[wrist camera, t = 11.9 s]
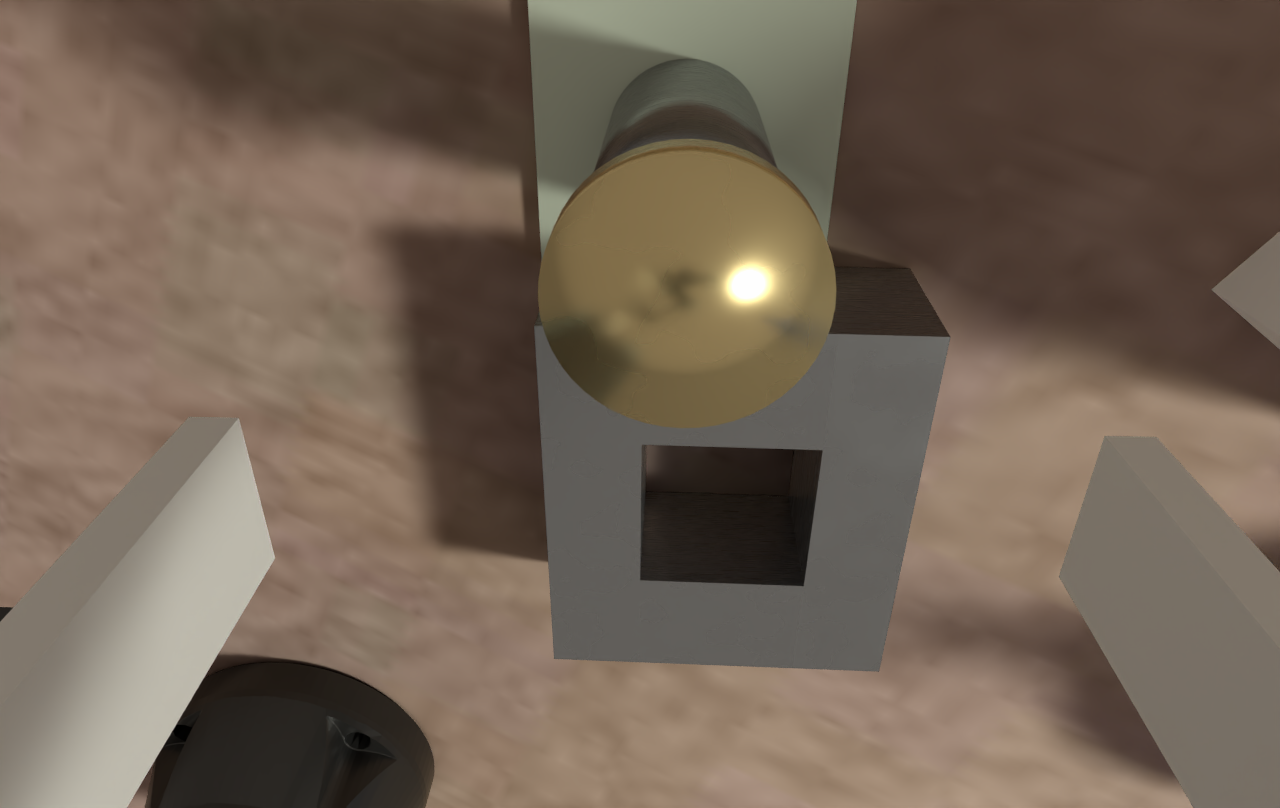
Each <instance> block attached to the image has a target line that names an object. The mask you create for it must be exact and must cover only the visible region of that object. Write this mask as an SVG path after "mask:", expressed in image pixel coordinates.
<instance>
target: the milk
mask: <svg viewBox="0 0 1280 808" xmlns="http://www.w3.org/2000/svg"><path fill="white" fill-rule="evenodd" d="M1211 290H1212V291H1213V292H1214V293H1216V294H1217V295H1218V296H1219V297H1220V298H1221V299H1222V300H1224V301H1225V302H1226V303H1227V304H1228V305H1229V306H1230V307H1232V308H1233V309H1234V310H1235V311H1236V312H1237V313H1238V314H1240V315H1241V316H1242V317H1243V318H1244V319H1245V320H1246V321H1248V322H1249V323H1250V324H1251V325H1252V326H1253V327H1254V328H1256V329H1257V330H1258V331H1259V332H1260V333H1261V334H1263V335H1264V336H1265V337H1266V338H1267V339H1268V340H1269V341H1271V342H1272V343H1273V344H1274V345H1275V346H1276V347H1277V348H1279V349H1280V231H1279V232H1278V233H1277V234H1276V235H1275V236H1274V237H1272V238H1271V239H1270V240H1269V241H1268V242H1267V243H1265V244H1264V245H1263V246H1262V247H1261V248H1259V249H1258V250H1257V251H1256V252H1255V253H1254V254H1252V255H1251V256H1250V257H1249V258H1248V259H1247V260H1245V261H1244V262H1243V263H1242V264H1241V265H1239V266H1238V267H1237V268H1236V269H1235V270H1234V271H1232V272H1231V273H1230V274H1229V275H1228V276H1227V277H1225V278H1224V279H1223V280H1222V281H1221V282H1220V283H1218V284H1217V285H1216V286H1215V287H1214V288H1212V289H1211Z"/></svg>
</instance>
